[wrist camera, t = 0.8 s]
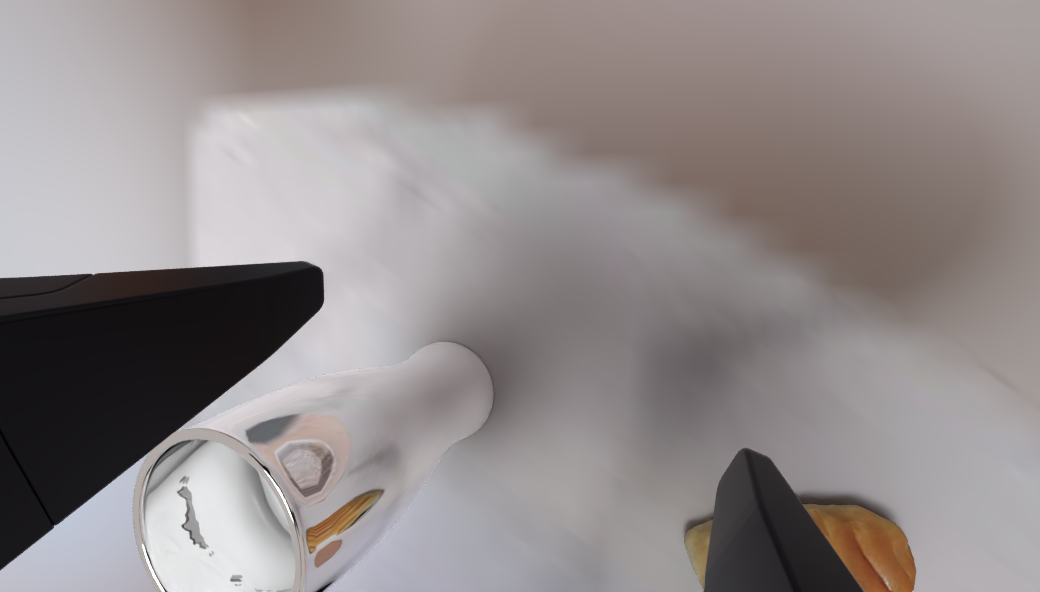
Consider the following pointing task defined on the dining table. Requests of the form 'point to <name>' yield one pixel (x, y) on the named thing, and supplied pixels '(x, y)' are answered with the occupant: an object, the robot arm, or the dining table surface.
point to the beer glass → (303, 475)
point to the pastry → (842, 546)
